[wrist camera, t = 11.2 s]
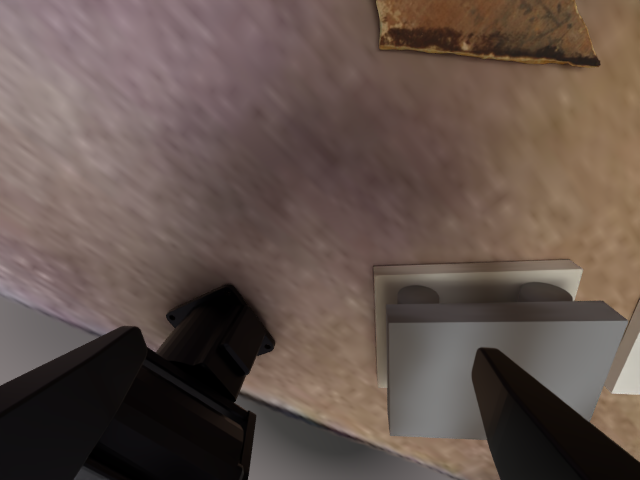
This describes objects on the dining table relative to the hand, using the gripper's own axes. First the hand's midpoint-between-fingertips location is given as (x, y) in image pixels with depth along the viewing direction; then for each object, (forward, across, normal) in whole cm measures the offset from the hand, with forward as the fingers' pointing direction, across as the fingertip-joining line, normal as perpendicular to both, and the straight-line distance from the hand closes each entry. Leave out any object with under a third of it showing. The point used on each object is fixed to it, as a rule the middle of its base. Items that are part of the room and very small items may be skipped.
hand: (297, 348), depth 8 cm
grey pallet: (+12, -9, +9) cm, 17 cm away
